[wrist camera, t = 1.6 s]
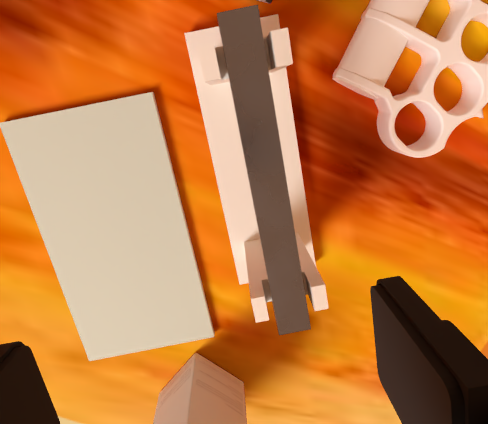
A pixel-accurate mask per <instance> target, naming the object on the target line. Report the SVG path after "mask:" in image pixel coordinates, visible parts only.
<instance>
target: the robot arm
mask: <svg viewBox="0 0 488 424" xmlns="http://www.w3.org/2000/svg"><path fill="white" fill-rule="evenodd" d="M371 302H372V313H373V324H374V335H375V346H376V357H377V368H378V374H379V378H380V381H381V383H382V386H383V388H384V389H385V391H386V393H387V395H388V397H389V399H390V401H391V403H392V405H393V407H394V409H395V411H396V413H397V415H398V416H399V418H400V420H401V422H402V424H488V359H487V358H486V357H485V356H484V355H483V354H482V353H481V352H480V351H479V350H478V349H477V348H476V347H475V346H474V345H473V344H472V343H471V342H470V341H469V340H468V339H467V338H466V337H465V336H464V335H463V333H462V332H461V331H460V330H459V329H458V328H457V327H456V326H455V325H454V324H453V323H451V322H450V321H448V320H441V319H440V318H439V317H438V316H437V315H436V314H435V313H434V312H433V311H432V310H431V308H430V307H429V306H428V305H427V304H426V303H425V302H424V301H423V300H422V299H421V298H420V297H419V296H418V295H417V294H416V292H415V291H414V290H413V289H412V288H411V287H410V286H409V285H408V284H407V283H406V282H405V281H404V280H403V279H402V278H401V277H400V276H396V277H390V278H384V279H379V280H377V285H376V286H371ZM0 424H60V421H59V418H58V416H57V413H56V411H55V408H54V406H53V403H52V401H51V398H50V396H49V393H48V391H47V388H46V386H45V383H44V381H43V378H42V376H41V373H40V371H39V368H38V366H37V363H36V361H35V358H34V356H33V353H32V351H31V349H30V347H28V346H25V345H24V344H23V343H22V342H19V341H18V342H12V343H7V344H1V345H0Z"/></svg>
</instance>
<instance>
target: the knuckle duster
mask: <svg viewBox="0 0 488 424" xmlns="http://www.w3.org/2000/svg"><path fill="white" fill-rule="evenodd" d="M428 2H429V0H370V2H369V5H368V7H367V9H366V10H365V11H364V12H363V14H362V16H361V21H360V23H359V25H358V27H357V29H356V31H355V33H354V35H353V37H352V39H351V41H350V43H349V45H348V47H347V49H346V51H345V53H344V55H343V57H342V59H341V61H340V63H339V66H338V68H336V69H335V71H334V73H333V78H332V79H333V80H335V81H336V82H338V83H339V84H341V85H343V86H345V87H347V88H349V89H351V90H353V91H355V92H357V93H359V94H361V95H363V96H366V97H368V98H371V99H374V101H375V103H376V106H377V108H378V110H379V113H378V117H377V130H378V134H379V137H380V139H381V140H382V142H383V143H384V144H385V145H386V146H387V147H388V148H389V149H391V150H393V151H395V152H398V153H401V154H404V155H407V156H410V157H417V158H421V157H427V156H431V155H433V154H436V153H437V152H439V151H441V150H442V149H443V148H444V147H445V144H446V141H447V139H448V137H449V135H450V134H451V132H452V131H453V130H454V129H455V128H456V127H457V126H458V125H459V124H460V123H461V122H463V121H465V120H467V119H469V118H471V117H474V116H475V117H480V118H483V111H482V108H483V107H484V106H485V105H486V104H487V103H488V53H487V54H486V56H485V57H484V58H483V59H482V60H481V61H479V62H475V61H472V60H470V59H468V58H467V57H466V56H465V54H464V53H463V50H462V47H461V37H462V33H463V30H464V28H465V26H466V25H467V24H468V22H469V21H470V20H472V21H478V22H481V23H483V24H485V25H486V26H487V27H488V4H486V3H484V2H482V1H481V0H448V3H449V6H450V13H449V15H448V17H447V18H446V20H445V22H444V24H443V26H442V28H441V29H440V31H439V33H438V35H437V37H436V38H434V37H432V36H430V35H429V34H427V33H425V32H423V31H421V30H420V29H418V28H416V25H417V23H418V21H419V19H420V17H421V16H422V14H423V12H424V10H425V8H426V6H427V4H428ZM405 46H406V47H408V48H409V49H411V50H413V51H415V52H417V53H418V54H420V56H421V58H422V63H421V66H420V68H419V70H418V71H417V73H416V75H415V77H414V79H413V81H412V82H411V84H410V86H409V88H408V90H407V91H406V92H405V93H403V94H398V95H395V96H392V94H391V92H390V90H389V89H387V88H385V87H384V85H385V83H386V82H387V80H388V78H389V76H390V74H391V72H392V70H393V68H394V66H395V65H396V63H397V61H398V59H399V57H400V55H401V53H402V51H403V50H404V48H405ZM446 67H448V68H450V69H451V70H452V71H453V72H454V73H455V74H456V75H457V76H458V78H459V79H460V81H461V83H462V95H461V98H460V100H459V102H458V103H457V105H456V106H455V107H454V108H453V109H451V110H449V111H447V112H446V111H445V110H444V109H443V108H442V107H441V106H440V105H439V103H438V102H437V101H436V99H435V96H434V83H435V80H436V78H437V76H438V75H439V73H440V72H441V71H442V70H443V69H444V68H446ZM409 103H413V104H414V105H415V106H416V107H417V108H418V109H419V110H420V111H421V112H422V113H423V115H424V117H425V121H426V127H425V131H424V133H423V135H422V136H421V138H420V139H419V140H418V141H417V142H415V143H413V144H411V145H408V146H406V145H405V144H404V143H403V142H402V141H401V140H400V139H399V138H398V137H397V135H396V133H395V128H394V124H395V119H396V116H397V114H398V113H399V111H400V110H401V109H402V108H403V107H404V106H405V105H407V104H409Z"/></svg>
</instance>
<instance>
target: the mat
mask: <svg viewBox="0 0 488 424" xmlns="http://www.w3.org/2000/svg"><path fill="white" fill-rule="evenodd" d="M0 127H1V130H2V133H3V135H4V138H5V140H6V143H7V146H8V148H9V151H10V154H11V156H12V159H13V161H14V164H15V167H16V169H17V172H18V175H19V177H20V180H21V183H22V185H23V188H24V190H25V193H26V196H27V198H28V201H29V204H30V206H31V209H32V212H33V214H34V217H35V219H36V222H37V225H38V227H39V230H40V233H41V235H42V238H43V240H44V243H45V246H46V248H47V251H48V254H49V256H50V259H51V262H52V264H53V267H54V269H55V272H56V275H57V277H58V280H59V283H60V285H61V288H62V291H63V293H64V296H65V298H66V301H67V304H68V306H69V309H70V312H71V314H72V317H73V319H74V322H75V325H76V327H77V330H78V333H79V335H80V338H81V341H82V343H83V346H84V348H85V351H86V354H87V356H88V359H89V361H93V360H98V359H103V358H108V357H113V356H119V355H124V354H129V353H134V352H139V351H144V350H149V349H154V348H160V347H165V346H170V345H175V344H180V343H185V342H190V341H196V340H201V339H206V338H211V337H214V333H215V332H214V328H213V325H212V321H211V317H210V313H209V309H208V305H207V301H206V297H205V293H204V289H203V285H202V281H201V277H200V273H199V269H198V265H197V261H196V257H195V254H194V250H193V246H192V242H191V238H190V234H189V230H188V226H187V222H186V218H185V214H184V210H183V206H182V202H181V198H180V194H179V190H178V186H177V183H176V179H175V175H174V171H173V167H172V163H171V159H170V155H169V151H168V147H167V143H166V139H165V135H164V131H163V127H162V123H161V119H160V115H159V112H158V108H157V104H156V100H155V96H154V92H149V93H144V94H139V95H134V96H129V97H125V98H120V99H115V100H110V101H105V102H100V103H95V104H90V105H85V106H80V107H76V108H71V109H66V110H61V111H56V112H51V113H46V114H41V115H36V116H31V117H27V118H22V119H17V120H12V121H7V122H2V123H0Z"/></svg>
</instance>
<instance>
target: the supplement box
mask: <svg viewBox="0 0 488 424" xmlns="http://www.w3.org/2000/svg"><path fill="white" fill-rule="evenodd" d="M153 424H247V418H246V405H245V392H244V382H243V381H241V380H239V379H238V378H236V377H235V376H233V375H231V374H230V373H228V372H226V371H225V370H223V369H222V368H220V367H218V366H217V365H215V364H214V363H212V362H210V361H209V360H207V359H206V358H204V357H202V356H201V355H199V354H198V353H195V354H194V355H193V356H192V357H191V358H190V359H189V360H188V361H187V363H186V364H185V365H184V366H183V367H182V368H181V369H180V370H179V372H178V373H177V374H176V375H175V376H174V377H173V378H172V379H171V380H170V382H169V383H168V384H167V385H166V386H165V387H164V388H163V390H162V391H161V392H160V393H159V397H158V403H157V407H156V412H155V417H154V422H153Z"/></svg>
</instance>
